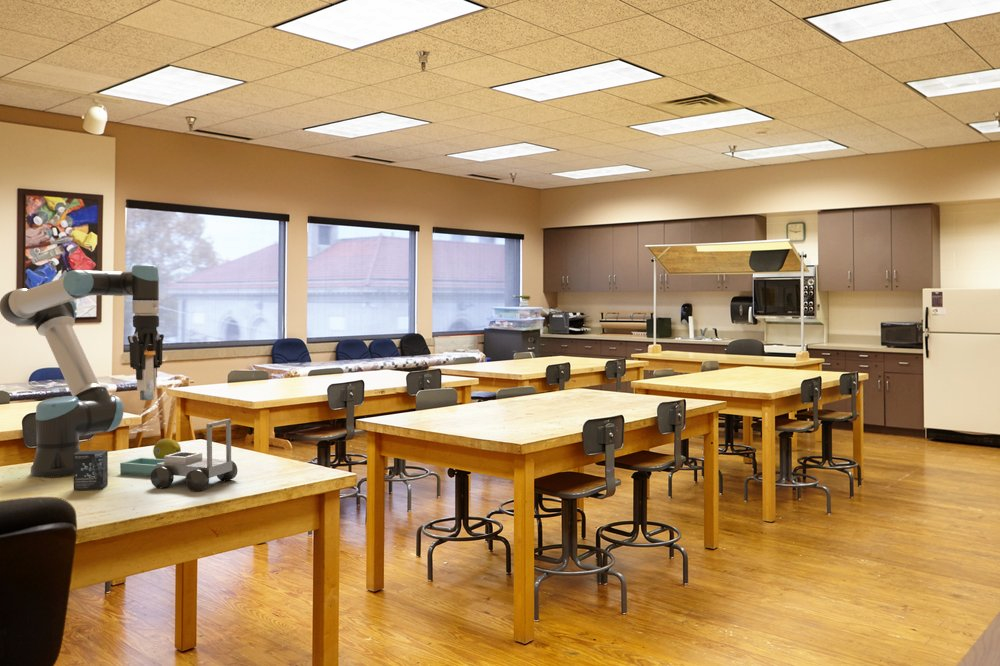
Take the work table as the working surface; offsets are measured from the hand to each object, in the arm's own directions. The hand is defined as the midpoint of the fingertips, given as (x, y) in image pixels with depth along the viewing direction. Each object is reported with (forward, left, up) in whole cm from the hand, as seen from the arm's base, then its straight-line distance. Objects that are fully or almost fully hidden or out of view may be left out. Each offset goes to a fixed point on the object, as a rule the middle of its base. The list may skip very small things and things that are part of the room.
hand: (146, 389), depth 252 cm
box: (-1, -22, -27) cm, 34 cm away
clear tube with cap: (0, 0, -3) cm, 3 cm away
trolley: (+24, -9, -26) cm, 37 cm away
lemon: (-5, +15, -27) cm, 31 cm away
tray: (0, 0, -26) cm, 26 cm away
